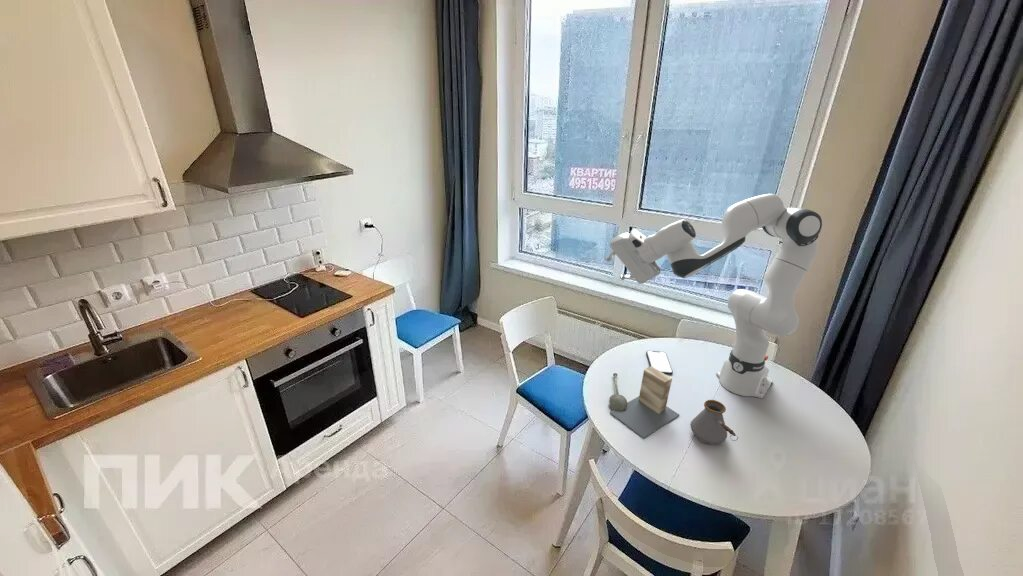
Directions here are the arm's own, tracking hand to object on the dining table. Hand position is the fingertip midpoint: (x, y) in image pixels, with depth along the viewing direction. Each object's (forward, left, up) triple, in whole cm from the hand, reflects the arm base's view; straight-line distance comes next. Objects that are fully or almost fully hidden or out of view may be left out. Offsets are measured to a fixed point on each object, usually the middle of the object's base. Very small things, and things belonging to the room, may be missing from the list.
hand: (613, 268), depth 151 cm
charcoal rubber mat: (+5, +27, -47) cm, 54 cm away
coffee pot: (-1, +49, -47) cm, 68 cm away
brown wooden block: (-1, +25, -46) cm, 53 cm away
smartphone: (-27, +9, -48) cm, 56 cm away
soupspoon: (+4, +13, -47) cm, 49 cm away
